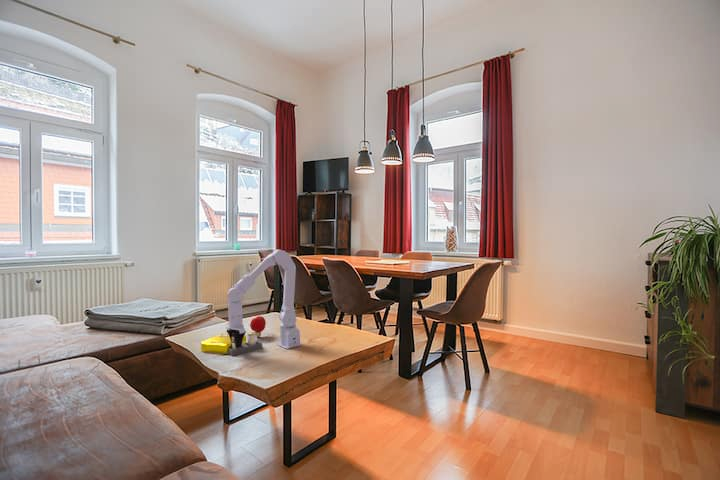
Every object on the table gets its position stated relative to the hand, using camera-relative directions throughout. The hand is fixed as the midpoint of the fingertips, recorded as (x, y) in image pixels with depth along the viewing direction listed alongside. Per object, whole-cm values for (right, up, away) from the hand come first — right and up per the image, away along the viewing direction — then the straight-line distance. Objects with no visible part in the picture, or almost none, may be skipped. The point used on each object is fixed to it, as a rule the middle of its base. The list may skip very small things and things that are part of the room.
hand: (236, 346), depth 156 cm
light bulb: (+3, -2, +21) cm, 22 cm away
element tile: (-8, -3, +7) cm, 11 cm away
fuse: (+5, -2, +5) cm, 7 cm away
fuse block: (+3, -3, +2) cm, 4 cm away
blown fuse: (0, -3, 0) cm, 3 cm away
